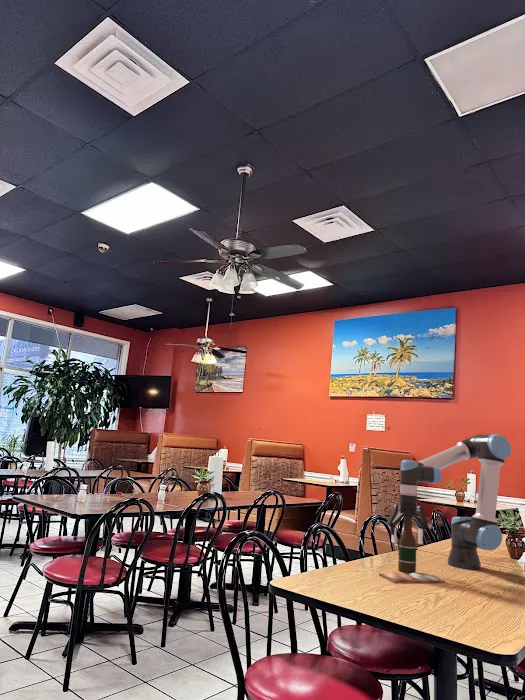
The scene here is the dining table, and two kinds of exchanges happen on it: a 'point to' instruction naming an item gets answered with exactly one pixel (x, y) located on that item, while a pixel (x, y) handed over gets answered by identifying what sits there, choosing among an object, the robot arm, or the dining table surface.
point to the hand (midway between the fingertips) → (406, 543)
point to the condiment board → (411, 578)
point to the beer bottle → (407, 548)
